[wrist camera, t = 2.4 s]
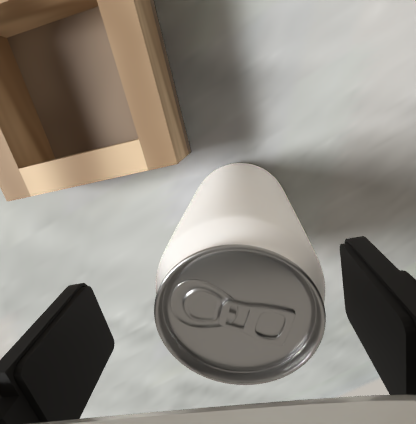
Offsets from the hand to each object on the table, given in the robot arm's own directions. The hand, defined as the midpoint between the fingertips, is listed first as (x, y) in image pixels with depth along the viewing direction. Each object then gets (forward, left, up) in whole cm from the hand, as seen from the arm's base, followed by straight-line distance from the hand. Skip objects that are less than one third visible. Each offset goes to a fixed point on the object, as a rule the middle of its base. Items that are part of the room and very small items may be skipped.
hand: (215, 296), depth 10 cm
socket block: (+7, -10, -11) cm, 16 cm away
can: (-1, 0, -11) cm, 11 cm away
